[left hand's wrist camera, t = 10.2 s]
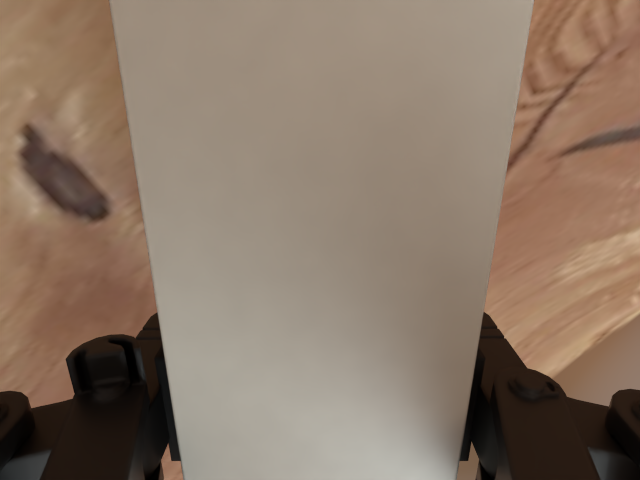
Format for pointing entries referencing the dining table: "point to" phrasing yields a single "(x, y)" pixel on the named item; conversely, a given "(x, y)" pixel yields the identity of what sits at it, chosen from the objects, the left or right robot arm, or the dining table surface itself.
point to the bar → (320, 222)
